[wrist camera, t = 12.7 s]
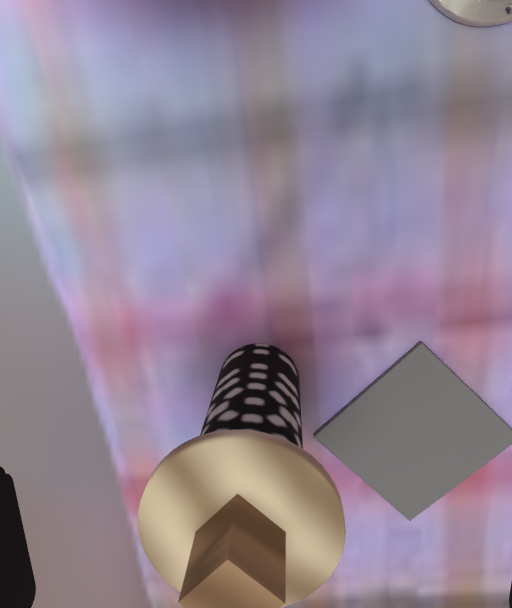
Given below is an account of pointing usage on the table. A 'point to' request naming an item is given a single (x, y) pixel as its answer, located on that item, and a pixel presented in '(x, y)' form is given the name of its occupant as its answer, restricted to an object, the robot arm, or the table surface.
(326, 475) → the lid
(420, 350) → the mat
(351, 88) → the table surface
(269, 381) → the polka dot cylinder
